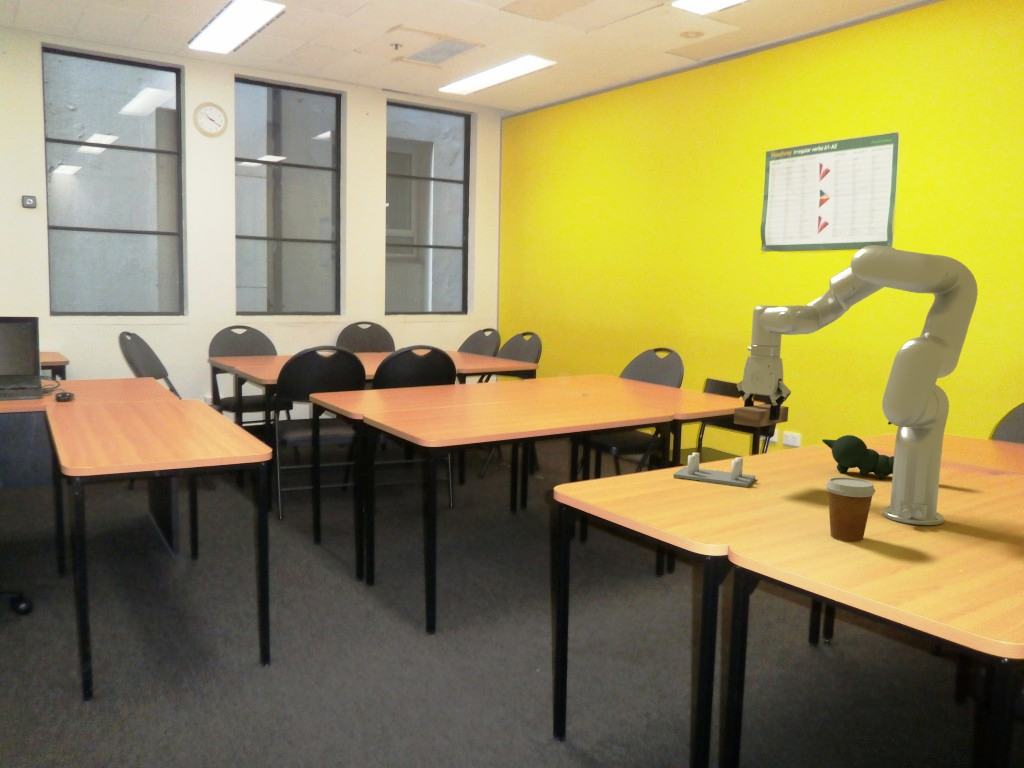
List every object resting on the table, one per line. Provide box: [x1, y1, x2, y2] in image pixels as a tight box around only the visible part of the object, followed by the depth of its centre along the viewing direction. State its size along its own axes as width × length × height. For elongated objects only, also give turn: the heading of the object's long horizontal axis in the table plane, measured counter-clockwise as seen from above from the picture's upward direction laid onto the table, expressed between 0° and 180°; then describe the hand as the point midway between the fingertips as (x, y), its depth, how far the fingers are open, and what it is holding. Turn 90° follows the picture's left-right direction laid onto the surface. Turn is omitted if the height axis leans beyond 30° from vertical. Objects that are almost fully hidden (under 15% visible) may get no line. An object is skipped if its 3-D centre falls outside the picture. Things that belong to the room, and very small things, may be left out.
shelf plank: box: [733, 403, 790, 428], centre depth 205 cm, size 16×7×4 cm, turn 133°
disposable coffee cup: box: [825, 476, 876, 543], centre depth 160 cm, size 10×10×12 cm
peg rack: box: [673, 452, 756, 488], centre depth 211 cm, size 11×20×6 cm, turn 62°
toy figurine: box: [821, 421, 894, 480], centre depth 218 cm, size 9×19×25 cm
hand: (761, 417), depth 205 cm, fingers closed on shelf plank, 7 cm apart
